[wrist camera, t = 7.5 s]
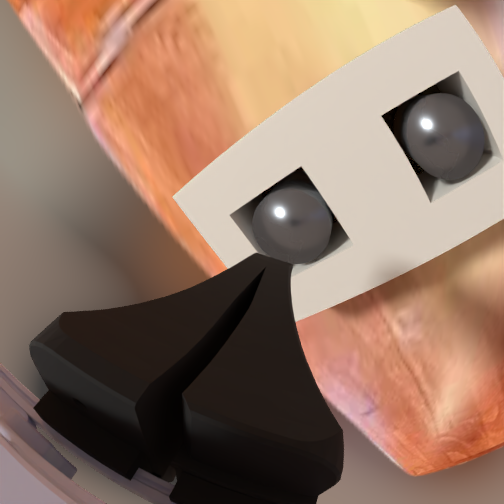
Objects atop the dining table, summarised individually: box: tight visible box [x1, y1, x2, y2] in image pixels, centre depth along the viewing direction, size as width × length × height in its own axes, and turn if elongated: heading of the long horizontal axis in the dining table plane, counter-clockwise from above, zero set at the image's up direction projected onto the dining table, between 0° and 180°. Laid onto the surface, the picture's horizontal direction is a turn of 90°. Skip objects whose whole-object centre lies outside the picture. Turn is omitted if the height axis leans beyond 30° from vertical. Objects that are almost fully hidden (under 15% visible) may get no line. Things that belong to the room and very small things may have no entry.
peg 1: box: [252, 171, 334, 264], centre depth 17 cm, size 4×4×4 cm
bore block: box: [172, 5, 504, 322], centre depth 15 cm, size 10×18×5 cm, turn 129°
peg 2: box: [394, 93, 485, 180], centre depth 13 cm, size 4×4×4 cm
